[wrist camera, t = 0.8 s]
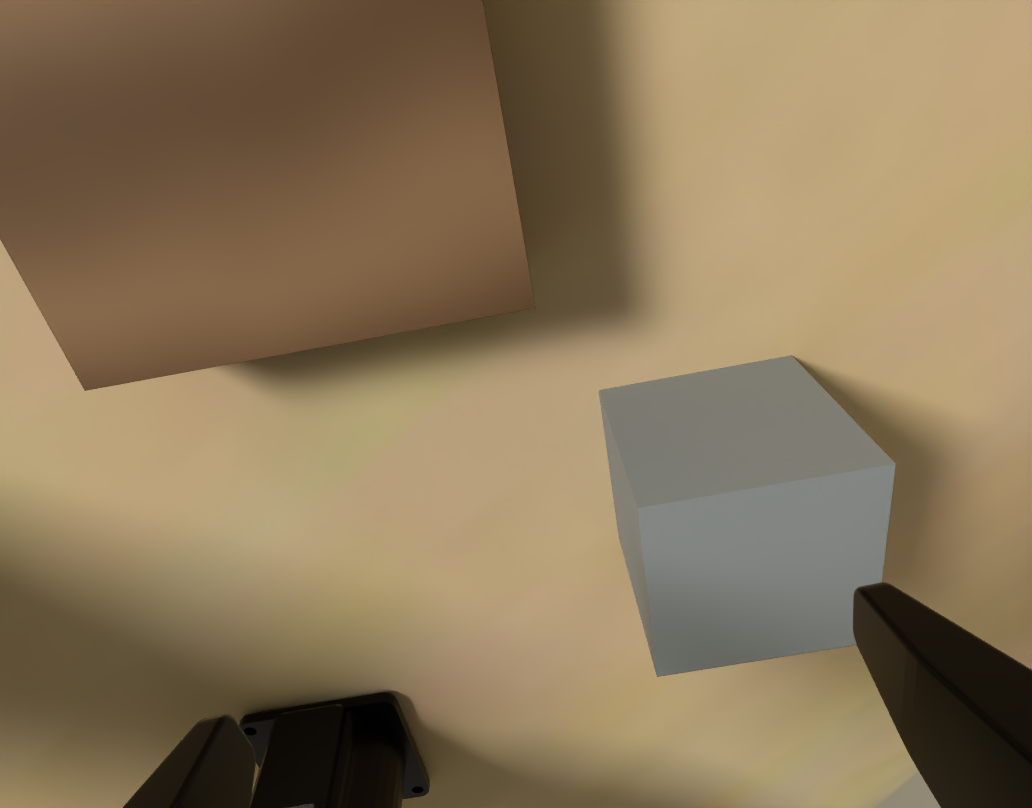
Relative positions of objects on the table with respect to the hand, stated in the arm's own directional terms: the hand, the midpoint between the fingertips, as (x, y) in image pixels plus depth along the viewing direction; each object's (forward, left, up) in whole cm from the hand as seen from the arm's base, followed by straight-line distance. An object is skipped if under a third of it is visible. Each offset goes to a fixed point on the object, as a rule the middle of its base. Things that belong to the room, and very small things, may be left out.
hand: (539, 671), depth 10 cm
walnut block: (+8, +5, -12) cm, 15 cm away
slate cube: (-5, -5, -12) cm, 14 cm away
